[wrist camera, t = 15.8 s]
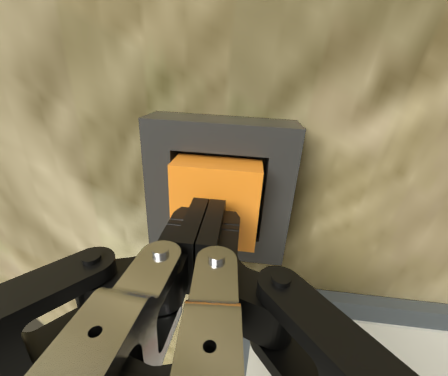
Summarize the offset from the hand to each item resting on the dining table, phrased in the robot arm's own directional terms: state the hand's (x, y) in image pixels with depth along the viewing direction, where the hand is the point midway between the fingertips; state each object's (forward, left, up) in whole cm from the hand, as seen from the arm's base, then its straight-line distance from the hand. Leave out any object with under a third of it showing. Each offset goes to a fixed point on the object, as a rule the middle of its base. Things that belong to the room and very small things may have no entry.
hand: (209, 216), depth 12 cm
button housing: (0, 0, -5) cm, 5 cm away
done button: (0, 0, -3) cm, 3 cm away
